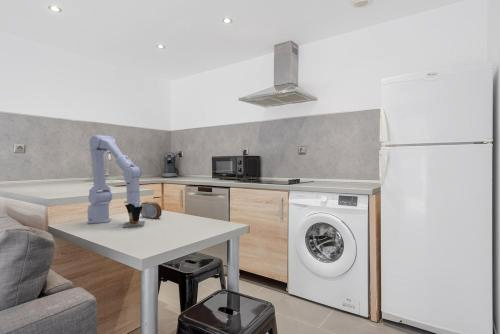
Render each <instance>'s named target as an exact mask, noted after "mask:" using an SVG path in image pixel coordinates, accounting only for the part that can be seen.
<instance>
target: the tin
mask: <svg viewBox="0 0 500 334" xmlns="http://www.w3.org/2000/svg"><path fill="white" fill-rule="evenodd" d="M140 206H143V208H142V210H141V212H140V215H141V216H142V217H143V218H147V219H154V220H155V219H158V218H161V217H162V207H161V205H160V204H159V203H158V202H153V201H143V202H142V203H141V204H140Z"/></svg>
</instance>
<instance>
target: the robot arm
mask: <svg viewBox="0 0 500 334" xmlns="http://www.w3.org/2000/svg"><path fill="white" fill-rule="evenodd" d="M89 149H90V151H89V152H90V154H91V156H90V157H91V167H92V175H93V176H92V177H93V178H92V179H93V186H92V187H91V188H90V189H89V190H88V193H89V194H88V196H87V197H88V198H87V199H88V202H89V203H90V204H89V205H88V206H87V224H98V223H99V224H100V223H109V222H110V221H111V220H112V218H110V204H111V201H112V199H113V194H112V189H111V187H110V186H108V185H107V182H106V174H105V162H104V160H105V159H104V154H105V153H106V152H108V151H109V152H110V154H111V155H112V156H113V157H114V158H115V159H116V161H115V162H116V164H117V165H118V167H119V169H121V170H122V172H123V173H122V175H123V178H124V180H125V181H124V182H125V183H126V201H123V202H124V206H125V208H126V210H127V213H128V215H129V213H132V217H133V221H134V222H136V221H140V215H141V213H140V212H141V210H142V208H143V206H140V205H141V204H140V203H141V199H140V178H141V177H142V175H143V174H142V173H143V171H142V169H141V167H140V166H137V165H136V164H134V163H133V161H132V160H131V159H130V157H129V156H128V155H125V154H123V153H122V151H121V149H119V147H118V145H117V144H116V139H115V138H114V136H112V135H101V134H93V135H92V136H91V137H90V138H89Z"/></svg>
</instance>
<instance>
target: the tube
mask: <svg viewBox="0 0 500 334" xmlns="http://www.w3.org/2000/svg"><path fill="white" fill-rule="evenodd" d="M128 219H129V221H128V222H129V223H130V224H137V223H139V222H138V221H136V222H134V221H133V217H132V213H129V214H128Z"/></svg>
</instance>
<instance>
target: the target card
mask: <svg viewBox="0 0 500 334" xmlns="http://www.w3.org/2000/svg"><path fill="white" fill-rule="evenodd" d="M138 222H139V223H137V224H130V223H129V221H125V222H124V224H123V225H122V229H129V228H130V229H131V228H138V227H139V228H141V227H142V226H143V227H144V226H145V223H146V221H145V220H139V221H138ZM143 227H142V228H143Z"/></svg>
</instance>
